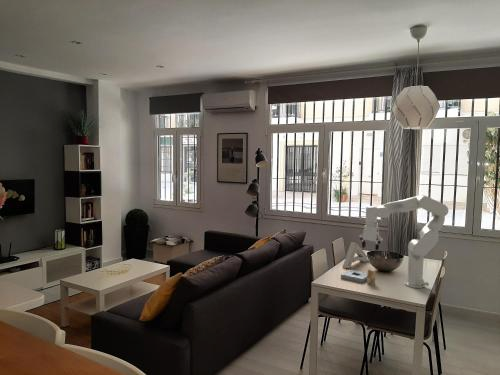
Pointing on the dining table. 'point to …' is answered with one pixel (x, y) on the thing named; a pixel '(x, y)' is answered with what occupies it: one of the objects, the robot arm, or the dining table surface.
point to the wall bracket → (351, 255)
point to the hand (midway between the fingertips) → (370, 248)
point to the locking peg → (371, 276)
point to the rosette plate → (355, 276)
